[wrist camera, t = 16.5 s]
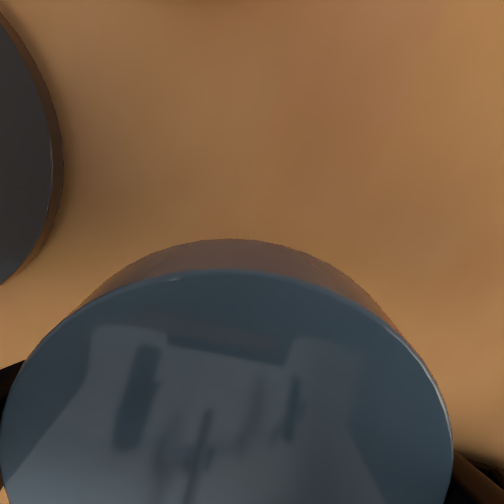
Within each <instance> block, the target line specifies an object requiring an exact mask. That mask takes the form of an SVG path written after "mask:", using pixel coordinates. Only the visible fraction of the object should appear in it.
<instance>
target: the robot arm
mask: <svg viewBox="0 0 504 504" xmlns="http://www.w3.org/2000/svg"><path fill="white" fill-rule="evenodd" d="M24 361H25V360H23V361H21V362H18V363H16V364H13V365H11V366H8V367H6V368H3V369H1V370H0V423H1V417H2V411H3V408H4V405H5V402H6V400H7V397H8V394H9V391H10V388H11V385H12V383H13V381H14V380H15V378H16V376H17V374H18V372H19V370H20V369H21V367H22V365H23V363H24ZM2 487H3V482H2V476H1V471H0V490H1V489H2ZM444 504H504V470H502V469H499V468H494V467H491V466H488V465H485V464H482V463H479V462H476V461H473V460H470V459H468V458H465V457H462V456H461V455H459V454H458V453H457V452H456V451H454V450H453V466H452V474H451V481H450V485H449V488H448V492H447V495H446V499H445V502H444Z"/></svg>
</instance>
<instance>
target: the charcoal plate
mask: <svg viewBox="0 0 504 504" xmlns="http://www.w3.org/2000/svg"><path fill="white" fill-rule="evenodd" d="M63 167H64V162H63V150H62V139H61V134H60V130H59V125H58V120H57V116H56V112H55V109H54V106H53V103H52V100H51V97H50V94H49V91H48V89H47V86H46V84H45V82H44V80H43V78H42V76H41V74H40V71H39V69H38V67H37V65H36V63H35V61H34V60H33V58H32V56H31V55H30V53H29V51H28V50H27V48H26V46H25V45H24V43H23V41H22V40H21V38H20V37H19V35H18V34H17V33H16V31H15V30H14V29H13V27H12V26H11V25H10V24H9V22H8V21H7V20H6V18H5V17H4V16H3V14H2V13H1V12H0V286H2V285H3V284H5V283H6V282H8V281H9V280H10V279H12V278H13V277H14V276H16V275H17V274H19V273H20V272H21V271H22V270H23V269H24V268H25V267H26V266H27V265H28V264H29V263H30V262H31V261H32V259H33V258H34V257H35V255H36V254H37V252H38V251H39V250H40V248H41V247H42V246H43V244H44V242H45V240H46V238H47V236H48V234H49V232H50V230H51V228H52V226H53V223H54V220H55V217H56V214H57V211H58V208H59V204H60V198H61V193H62V187H63Z"/></svg>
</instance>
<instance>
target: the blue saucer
mask: <svg viewBox="0 0 504 504" xmlns="http://www.w3.org/2000/svg"><path fill="white" fill-rule="evenodd" d="M452 466H453V437H452V429H451V424H450V420H449V415H448V411H447V406H446V404H445V401H444V399H443V397H442V394H441V392H440V389H439V387H438V384H437V382H436V380H435V379H434V377H433V375H432V374H431V372H430V371H429V369H428V367H427V366H426V364H425V362H424V361H423V359H422V358H421V357H420V355H419V354H418V353H417V352H416V351H415V349H414V348H413V347H412V346H411V344H410V343H409V342H408V341H407V339H406V338H405V337H404V336H403V335H402V333H401V332H400V331H399V330H398V328H397V327H396V326H395V325H394V323H393V322H392V321H391V320H390V318H389V317H388V316H387V315H386V314H385V312H384V311H383V310H382V309H381V308H380V306H379V305H378V304H377V303H376V302H375V301H374V299H373V298H372V297H371V296H370V295H369V294H368V293H367V292H366V291H365V290H364V289H363V288H362V287H360V286H359V285H358V284H357V283H356V282H355V281H354V280H352V279H351V278H350V277H348V276H347V275H345V274H344V273H342V272H341V271H339V270H338V269H336V268H335V267H333V266H332V265H330V264H328V263H326V262H324V261H322V260H320V259H318V258H315V257H313V256H311V255H309V254H307V253H304V252H301V251H298V250H295V249H292V248H289V247H286V246H283V245H278V244H273V243H267V242H262V241H257V240H243V239H215V240H201V241H196V242H191V243H186V244H181V245H176V246H172V247H169V248H166V249H163V250H161V251H158V252H155V253H152V254H149V255H147V256H145V257H143V258H141V259H139V260H137V261H135V262H133V263H131V264H129V265H127V266H126V267H124V268H123V269H121V270H120V271H118V272H117V273H115V274H114V275H113V276H111V277H110V278H108V279H107V280H106V281H105V282H104V283H102V284H101V285H100V286H99V287H98V288H97V289H96V290H95V291H94V292H93V293H92V294H90V295H89V296H88V297H87V298H86V299H85V300H84V301H83V302H82V303H81V304H80V305H79V306H77V307H76V308H75V309H74V310H73V311H72V312H71V313H70V314H69V315H68V316H67V317H66V318H64V319H63V320H62V321H61V322H60V323H59V324H58V325H57V326H56V327H55V328H54V329H53V330H51V331H50V332H49V333H48V334H47V335H46V336H45V337H44V338H43V339H42V340H41V341H40V342H39V344H38V345H37V346H36V347H35V349H34V350H33V351H32V353H31V354H30V355H29V356H28V358H27V359H26V360H25V361H24V363H23V365H22V367H21V369H20V370H19V372H18V374H17V376H16V378H15V380H14V381H13V383H12V385H11V388H10V391H9V394H8V397H7V400H6V402H5V405H4V408H3V411H2V417H1V423H0V471H1V476H2V482H3V485H4V488H5V491H6V494H7V497H8V500H9V503H10V504H444V502H445V499H446V495H447V492H448V488H449V485H450V481H451V474H452Z"/></svg>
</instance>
